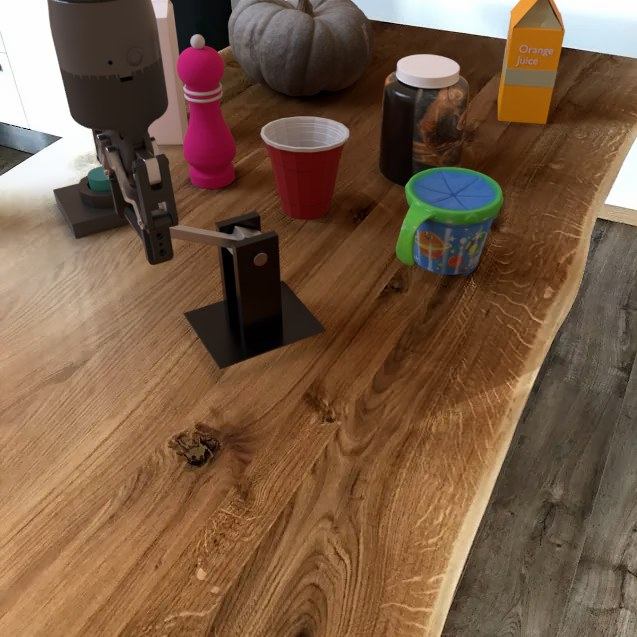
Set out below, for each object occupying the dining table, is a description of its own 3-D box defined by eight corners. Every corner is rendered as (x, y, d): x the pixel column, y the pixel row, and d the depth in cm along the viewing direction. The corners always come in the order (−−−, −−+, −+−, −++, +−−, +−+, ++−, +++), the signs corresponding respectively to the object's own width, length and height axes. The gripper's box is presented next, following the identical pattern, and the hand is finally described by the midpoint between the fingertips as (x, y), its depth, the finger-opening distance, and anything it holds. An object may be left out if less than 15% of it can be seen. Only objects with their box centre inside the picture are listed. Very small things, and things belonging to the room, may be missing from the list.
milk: (151, 129, 116) (126, -20, 102) (189, 128, 116) (170, -20, 102) (144, 146, 111) (118, -7, 97) (184, 145, 111) (163, -8, 98)
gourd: (195, 69, 128) (204, -37, 118) (291, 55, 145) (306, -39, 135) (298, 124, 117) (319, 12, 106) (389, 102, 133) (414, 3, 123)
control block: (75, 239, 91) (68, 211, 89) (56, 203, 98) (49, 177, 96) (167, 214, 96) (162, 187, 93) (142, 182, 103) (137, 156, 100)
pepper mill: (225, 195, 100) (210, 47, 87) (178, 186, 102) (156, 41, 89) (246, 170, 105) (235, 28, 92) (201, 163, 107) (184, 22, 94)
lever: (139, 251, 62) (148, 226, 61) (120, 221, 66) (128, 197, 65) (267, 271, 70) (276, 249, 69) (243, 243, 74) (252, 222, 73)
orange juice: (543, 102, 123) (568, -25, 110) (546, 124, 116) (574, -8, 104) (496, 99, 124) (515, -28, 111) (496, 120, 117) (517, -11, 105)
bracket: (221, 378, 72) (207, 273, 64) (184, 322, 79) (168, 220, 71) (326, 339, 77) (326, 236, 68) (283, 289, 83) (279, 190, 75)
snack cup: (460, 223, 94) (470, 151, 87) (523, 261, 87) (539, 186, 81) (365, 265, 87) (369, 189, 80) (426, 310, 80) (434, 231, 74)
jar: (365, 178, 103) (369, 73, 94) (395, 144, 111) (401, 44, 102) (445, 196, 99) (458, 88, 90) (470, 159, 107) (484, 57, 98)
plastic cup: (355, 198, 99) (357, 114, 91) (338, 241, 91) (340, 153, 83) (277, 189, 101) (274, 106, 93) (255, 231, 93) (248, 143, 85)
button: (95, 195, 93) (92, 183, 92) (86, 182, 95) (83, 170, 94) (125, 187, 94) (123, 175, 93) (116, 174, 97) (114, 163, 96)
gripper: (36, 33, 58) (80, 211, 68) (85, 95, 48) (128, 292, 58) (129, 18, 60) (158, 191, 71) (192, 74, 51) (215, 265, 61)
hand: (144, 236), depth 64 cm, fingers open, 8 cm apart
